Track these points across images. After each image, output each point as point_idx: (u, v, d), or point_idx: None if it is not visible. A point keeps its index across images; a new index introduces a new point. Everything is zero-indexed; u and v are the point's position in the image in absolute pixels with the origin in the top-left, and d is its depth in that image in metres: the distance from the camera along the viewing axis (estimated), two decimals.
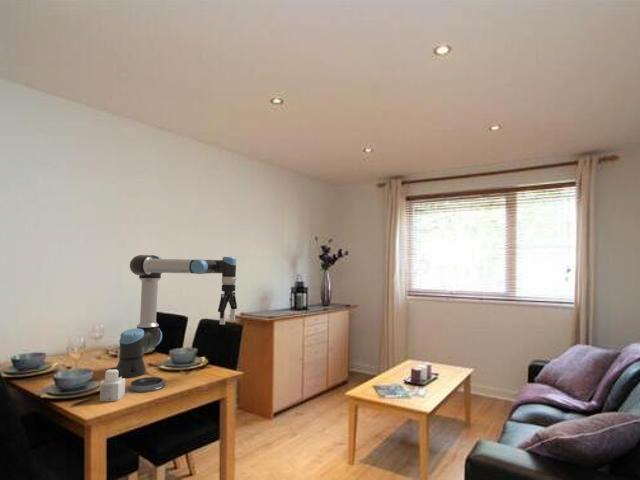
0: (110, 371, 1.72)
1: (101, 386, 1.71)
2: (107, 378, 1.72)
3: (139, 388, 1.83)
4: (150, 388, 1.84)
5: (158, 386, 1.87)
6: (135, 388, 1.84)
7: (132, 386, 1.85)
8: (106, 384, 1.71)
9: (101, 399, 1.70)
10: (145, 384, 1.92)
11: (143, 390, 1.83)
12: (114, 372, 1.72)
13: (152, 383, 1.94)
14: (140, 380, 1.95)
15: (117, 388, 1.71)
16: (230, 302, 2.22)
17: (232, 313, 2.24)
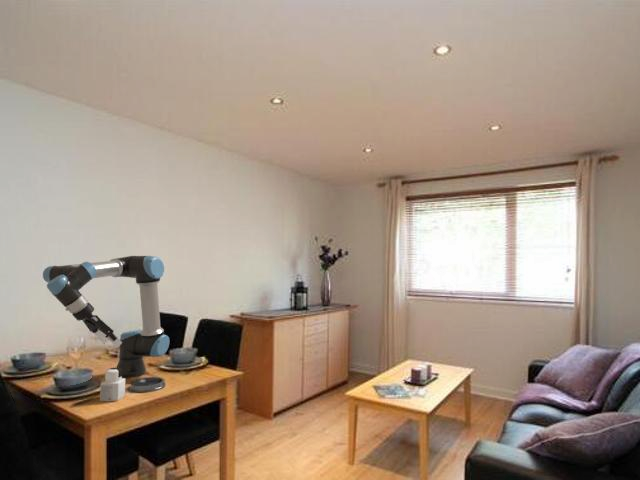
0: (110, 371, 1.72)
1: (101, 386, 1.71)
2: (107, 378, 1.72)
3: (139, 388, 1.83)
4: (150, 388, 1.84)
5: (158, 386, 1.87)
6: (135, 388, 1.84)
7: (132, 386, 1.85)
8: (106, 384, 1.71)
9: (101, 399, 1.70)
10: (145, 384, 1.92)
11: (143, 390, 1.83)
12: (114, 372, 1.72)
13: (152, 383, 1.94)
14: (140, 380, 1.95)
15: (117, 388, 1.71)
16: None
17: None
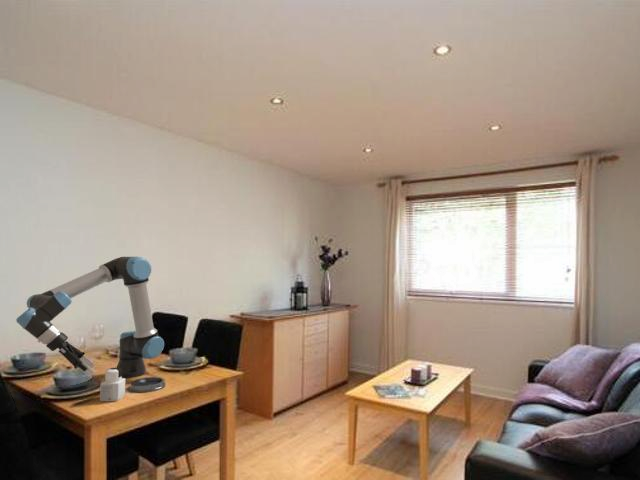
0: (110, 371, 1.72)
1: (101, 386, 1.71)
2: (107, 378, 1.72)
3: (139, 388, 1.83)
4: (150, 388, 1.84)
5: (158, 386, 1.87)
6: (135, 388, 1.84)
7: (132, 386, 1.85)
8: (106, 384, 1.71)
9: (101, 399, 1.70)
10: (145, 384, 1.92)
11: (143, 390, 1.83)
12: (114, 372, 1.72)
13: (152, 383, 1.94)
14: (140, 380, 1.95)
15: (117, 388, 1.71)
16: None
17: None
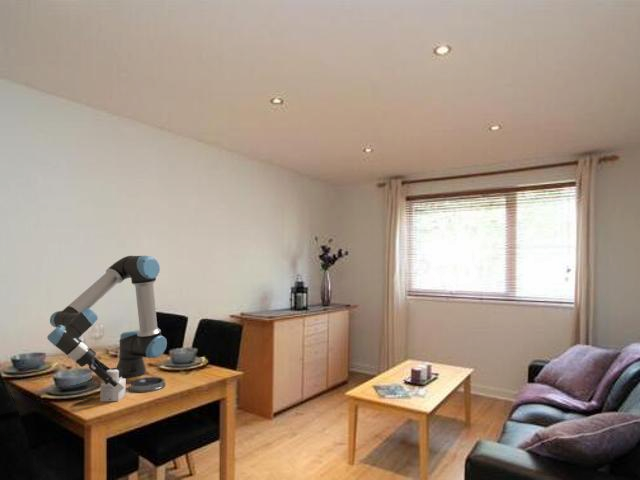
0: (110, 371, 1.72)
1: (101, 386, 1.70)
2: (107, 378, 1.71)
3: (139, 388, 1.83)
4: (150, 388, 1.84)
5: (158, 386, 1.87)
6: (135, 388, 1.84)
7: (132, 386, 1.85)
8: None
9: (102, 399, 1.70)
10: (145, 384, 1.92)
11: (143, 390, 1.83)
12: (114, 372, 1.72)
13: (152, 383, 1.94)
14: (140, 380, 1.95)
15: None
16: None
17: None
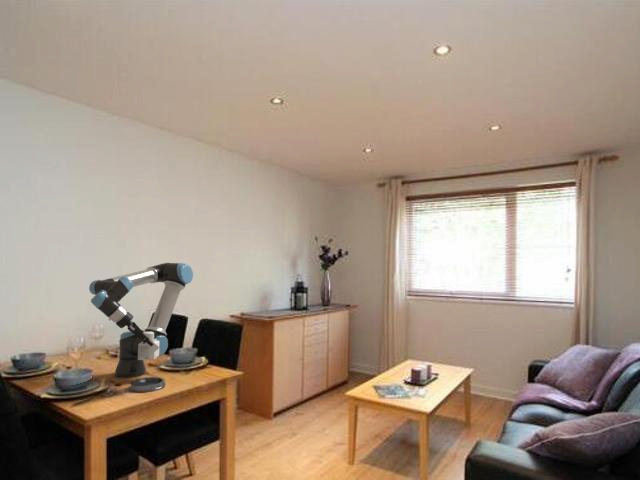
0: (147, 333, 1.89)
1: (139, 346, 1.87)
2: None
3: (139, 388, 1.83)
4: (150, 388, 1.84)
5: (158, 386, 1.87)
6: (135, 388, 1.84)
7: (132, 386, 1.85)
8: (143, 344, 1.88)
9: (139, 357, 1.87)
10: (145, 384, 1.92)
11: (143, 390, 1.83)
12: (150, 334, 1.89)
13: (152, 383, 1.94)
14: (140, 380, 1.95)
15: None
16: None
17: None
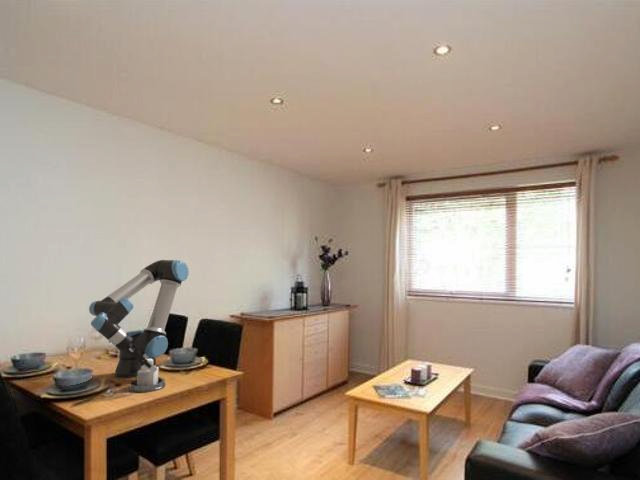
0: None
1: (138, 373, 1.87)
2: (143, 366, 1.88)
3: (139, 388, 1.83)
4: (150, 388, 1.84)
5: (158, 386, 1.87)
6: (135, 388, 1.84)
7: (132, 386, 1.85)
8: (143, 372, 1.88)
9: None
10: None
11: (143, 390, 1.83)
12: (150, 361, 1.89)
13: None
14: None
15: (153, 375, 1.88)
16: None
17: None
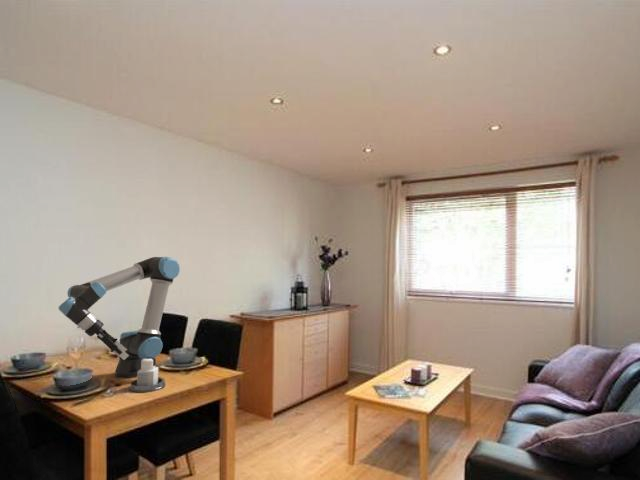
0: (146, 360, 1.89)
1: (138, 374, 1.87)
2: (143, 366, 1.88)
3: (139, 388, 1.83)
4: (150, 388, 1.84)
5: (158, 386, 1.87)
6: (135, 388, 1.84)
7: (132, 386, 1.85)
8: (142, 372, 1.87)
9: None
10: None
11: (143, 390, 1.83)
12: (149, 361, 1.89)
13: None
14: None
15: (152, 375, 1.88)
16: None
17: None
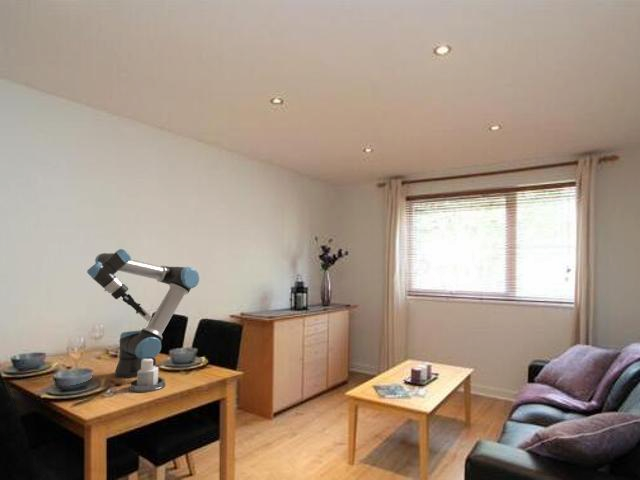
0: (146, 360, 1.89)
1: (138, 374, 1.87)
2: (143, 366, 1.88)
3: (139, 388, 1.83)
4: (150, 388, 1.84)
5: (158, 386, 1.87)
6: (135, 388, 1.84)
7: (132, 386, 1.85)
8: (142, 372, 1.87)
9: None
10: None
11: (143, 390, 1.83)
12: (149, 361, 1.89)
13: None
14: None
15: (152, 375, 1.88)
16: None
17: None
